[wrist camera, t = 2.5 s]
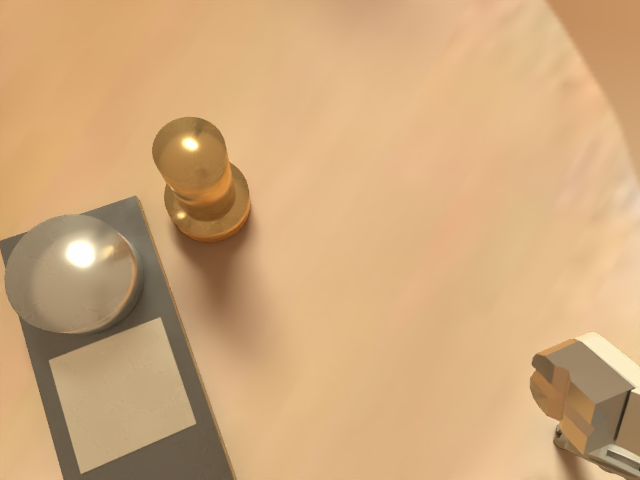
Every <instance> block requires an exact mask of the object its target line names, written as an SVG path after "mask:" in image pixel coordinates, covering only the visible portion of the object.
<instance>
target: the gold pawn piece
mask: <svg viewBox="0 0 640 480" xmlns="http://www.w3.org/2000/svg"><path fill="white" fill-rule="evenodd" d="M152 154H153V159H154V162H155V164H156V166H157V168H158V169H159V171H160V173H161V174H162V176H163V178H164V179H165V181H166V183H167V184H166V188H165V193H164V200H165V205H166V209H167V211H168V214H169V215H170V217H171V218H172V220H173V221H174V223H175V224H176V225H177V227H178V228H179V229H180V230H181V231H182V232H183V233H184V234H185V235H187V236H188V237H190V238H192V239H194V240H197V241H201V242H218V241H222V240H225V239H227V238H229V237H231V236H233V235H234V234H235V233H237V232H238V231H239V230H240V229H241V228H242V226H243V225H244V224H245V222H246V220H247V218H248V215H249V212H250V196H249V189H248V185H247V182H246V179H245V177H244V176H243V174H242V173H241V171H240V170H239V169H238V168H237V167H236V166H234V165H233V164H231V163H230V162H229V159H228V154H227V150H226V145H225V141H224V138H223V136H222V134H221V133H220V131H219V130H218V129H217V128H216V127H215V126H214V125H213V124H211V123H210V122H208V121H206V120H203V119H200V118H196V117H184V118H179V119H176V120H173V121H171V122H170V123H168V124H166V125H165V126H164V127H163V128H162V129H161V130H160V131H159V132H158V134H157V135H156V137H155V139H154V143H153V147H152Z"/></svg>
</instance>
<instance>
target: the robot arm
mask: <svg viewBox="0 0 640 480" xmlns="http://www.w3.org/2000/svg"><path fill="white" fill-rule="evenodd" d="M532 366H533V367H534V368H535V369H536V371H535V372H534V374H533V375H532V376H531V378H530V389H531V392H532V395H533V398H534V400H535V401H536V403H537V404H538V406H539V407H540V408H541V410H542V411H543V412H544V413H545V414H546V415H547V416H549V417H551V418H554V419H556V420H558V421H560V428H561V432H562V433H563V434H564V435H565V436H566V437H567V438H568V440H569V441H570V442H571V443H572V444H573V445H574V446H575V447H576V448H577V449H578V451H579V452H580V453H581V454H582V455H585V454H588V453H590V452H592V451H595V450H597V449H600V448H602V447H604V446H607V445H609V444H611V443H614V442H616V443H615V444H616V445H618V446H620V447H622V448H624V449H626V450H628V451H629V452H631V453H633V454H635V455H637V456H639V457H640V367H639V366H638V365H637V364H636V363H634V362H633V361H632V360H631V359H629V358H628V357H627V356H626V355H624V354H623V353H622V352H621V351H619V350H618V349H617V348H615V347H614V346H613V345H612V344H610V343H609V342H608V341H607V340H605V339H604V338H603V337H602V336H600V335H599V334H597V333H594V332H589V333H585V334H583V335H581V336H578V337H576V338H574V339H570V340H567V341H565V342H563V343H560V344H558V345H556V346H553V347H551V348H549V349H546V350H544V351H542V352H539V353H537V354H536V355H535V356H534V357H533V361H532Z"/></svg>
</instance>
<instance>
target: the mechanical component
mask: <svg viewBox="0 0 640 480" xmlns="http://www.w3.org/2000/svg"><path fill="white" fill-rule="evenodd" d="M557 432H559V433H561V436H560V438H557V437H555V438H554V440H553V441H554V443H555V444H556V445H557V446H558V447H559V448H562V449H565V450H567V451H569V452H571V453H573V454H575V455H577V456H579V457H582V458H584V459H586V460H588V461H590V462H592V463H594V464H596V465H598V466H599V467H600V468H601V469H603V470H604V471H606V472H609V473H613V474H617V475H619V476H622V477H624V478H625V479H626V480H640V457H639V456H637V455H635V454H633V453H631V452H629V451H628V450H626V449H624V448H622V447H620V446H618V445H616V444H615V443H616V442H614V443H611V444H609V445H607V446H604V447H602V448H600V449H597V450H595V451H592V452H590V453H588V454H585V455H582V454H581V453H580V452H579V451H578V449H577V448H576V447H575V446H574V445H573V444H572V443H571V442H570V441H569V440H568V438H567V437H566V436H565V435H564V434H563V433H562V432H561V428H560V424H559V425H557Z"/></svg>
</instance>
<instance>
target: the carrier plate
mask: <svg viewBox="0 0 640 480" xmlns="http://www.w3.org/2000/svg"><path fill="white" fill-rule="evenodd" d="M0 250H1V253H2V257H3V260H4V264H5V268H6V270H5V288H6V294H7V296H8V299H9V302H10V303H11V305H12V307H13V309H14V310H15V311H16V313H17V314H18V315H19V319H20V322H21V326H22V330H23V333H24V337H25V341H26V344H27V348H28V352H29V355H30V359H31V362H32V366H33V370H34V373H35V377H36V381H37V384H38V388H39V392H40V395H41V399H42V402H43V406H44V410H45V413H46V417H47V421H48V424H49V428H50V432H51V435H52V439H53V443H54V446H55V450H56V453H57V457H58V461H59V464H60V468H61V472H62V475H63V479H64V480H237V479H236V476H235V473H234V471H233V468H232V465H231V462H230V459H229V456H228V453H227V450H226V447H225V445H224V442H223V439H222V436H221V433H220V430H219V427H218V424H217V422H216V419H215V416H214V413H213V410H212V407H211V404H210V401H209V398H208V396H207V393H206V390H205V387H204V384H203V381H202V378H201V375H200V372H199V370H198V367H197V364H196V361H195V358H194V355H193V352H192V349H191V347H190V344H189V341H188V338H187V335H186V332H185V329H184V326H183V323H182V321H181V318H180V315H179V312H178V309H177V306H176V303H175V300H174V297H173V295H172V292H171V289H170V286H169V283H168V280H167V277H166V274H165V272H164V269H163V266H162V263H161V260H160V257H159V254H158V251H157V248H156V246H155V243H154V240H153V237H152V234H151V231H150V228H149V225H148V222H147V220H146V217H145V214H144V211H143V208H142V205H141V202H140V200H139V199H138V198H137V196H133V197H130V198H127V199H124V200H121V201H118V202H115V203H112V204H109V205H106V206H103V207H100V208H97V209H94V210H91V211H88V212H85V213H82V214H79V215H77V214H75V215H63V216H58V217H55V218H51V219H49V220H46V221H44V222H42V223H40V224H39V225H37V226H35V227H34V228H33V229H31V230H30V231H28V232H25V233H22V234H19V235H16V236H13V237H10V238H7V239H4V240H1V241H0Z"/></svg>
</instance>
